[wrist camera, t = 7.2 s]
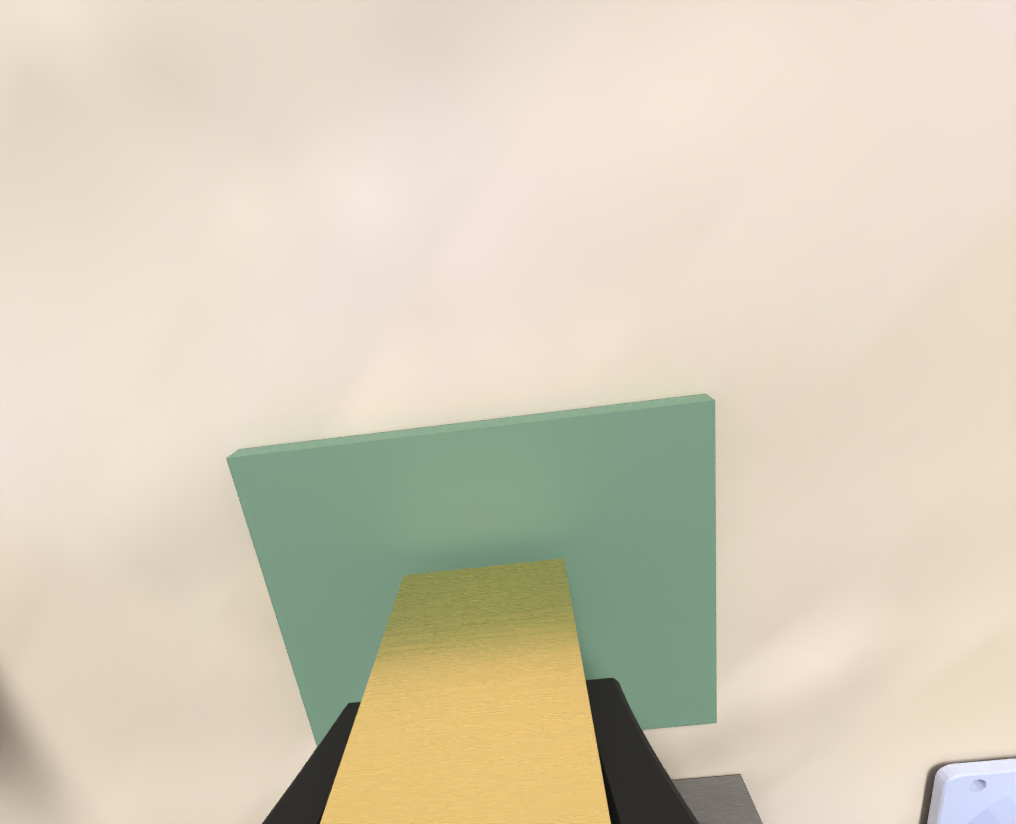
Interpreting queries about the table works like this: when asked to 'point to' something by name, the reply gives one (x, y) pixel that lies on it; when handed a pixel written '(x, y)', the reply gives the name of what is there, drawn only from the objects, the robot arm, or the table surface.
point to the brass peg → (475, 707)
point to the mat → (500, 540)
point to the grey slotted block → (719, 800)
